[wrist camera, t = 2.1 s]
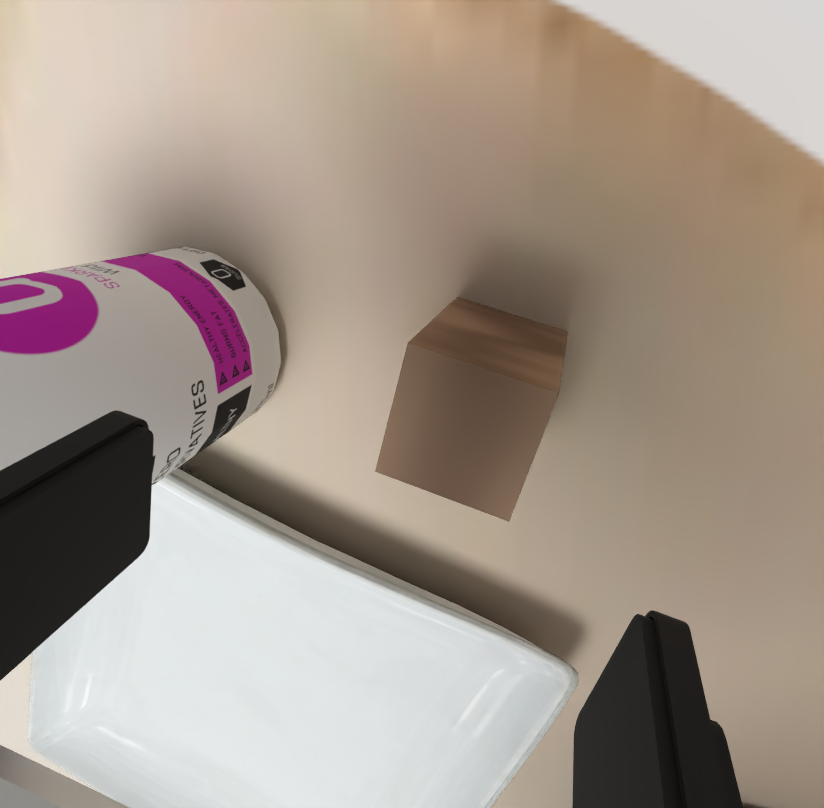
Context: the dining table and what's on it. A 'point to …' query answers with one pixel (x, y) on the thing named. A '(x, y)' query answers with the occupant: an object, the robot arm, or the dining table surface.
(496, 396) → the walnut block
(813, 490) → the dining table surface
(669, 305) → the dining table surface
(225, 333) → the supplement can
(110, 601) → the square plate
